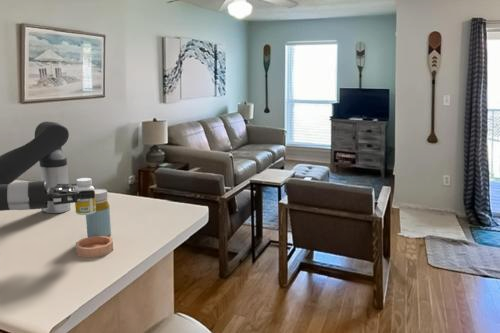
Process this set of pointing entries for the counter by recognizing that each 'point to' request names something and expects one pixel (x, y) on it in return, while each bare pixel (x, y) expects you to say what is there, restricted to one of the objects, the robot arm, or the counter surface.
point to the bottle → (99, 216)
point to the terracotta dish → (94, 246)
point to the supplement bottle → (85, 204)
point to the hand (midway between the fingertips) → (94, 191)
